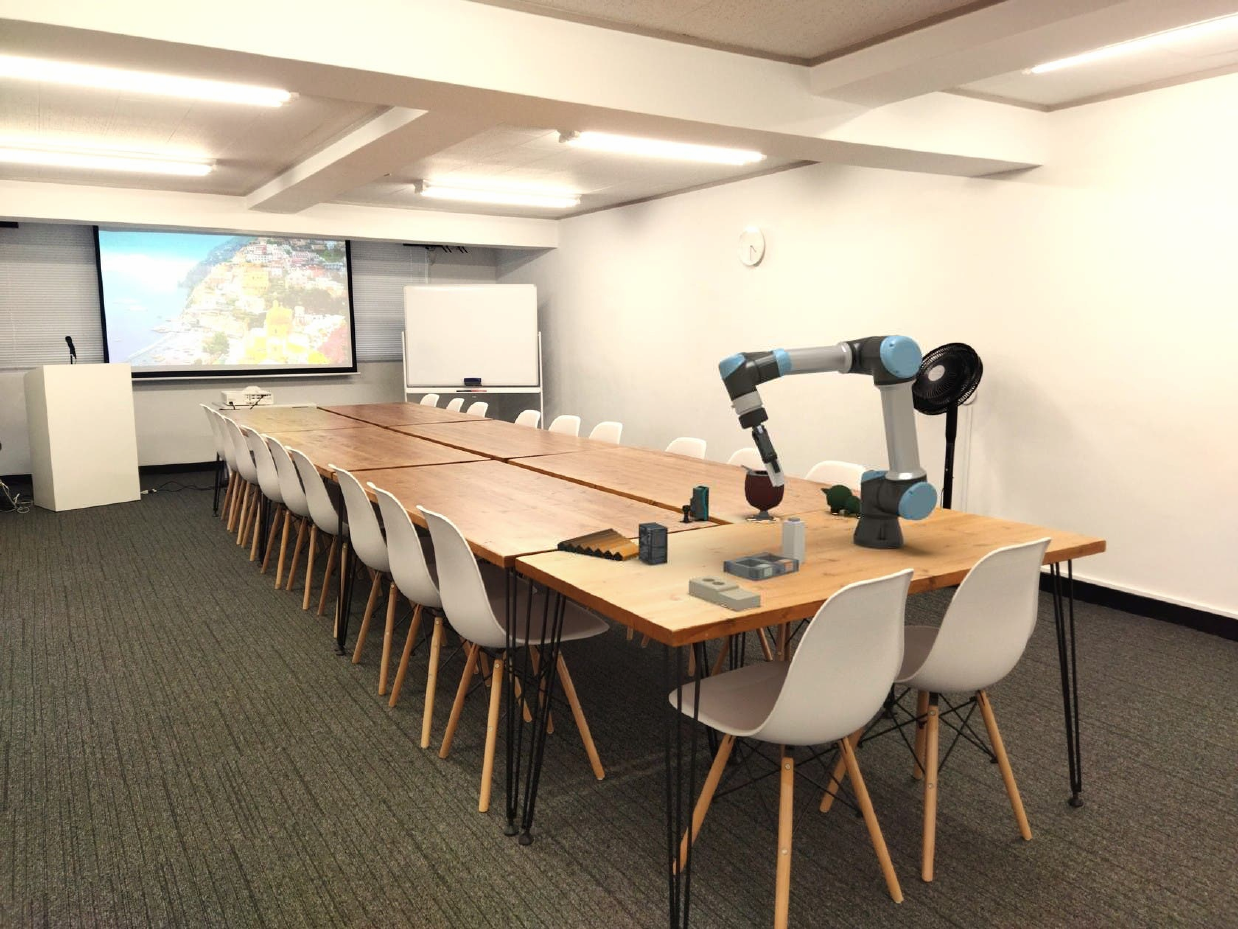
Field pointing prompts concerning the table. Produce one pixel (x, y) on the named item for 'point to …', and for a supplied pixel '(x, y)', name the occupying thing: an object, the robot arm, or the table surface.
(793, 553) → the plug
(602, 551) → the pan flute
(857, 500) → the toy figurine
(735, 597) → the electrical outlet
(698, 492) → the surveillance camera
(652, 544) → the box
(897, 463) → the robot arm
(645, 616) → the table surface
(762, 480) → the mate gourd
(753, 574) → the socket block
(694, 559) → the table surface
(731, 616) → the table surface
